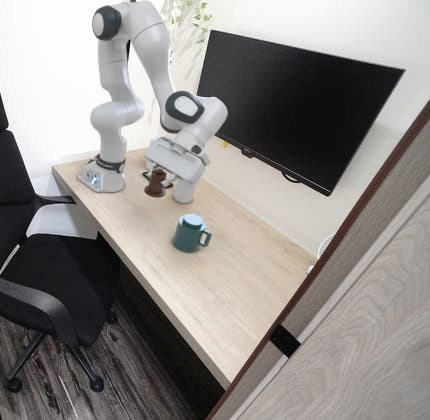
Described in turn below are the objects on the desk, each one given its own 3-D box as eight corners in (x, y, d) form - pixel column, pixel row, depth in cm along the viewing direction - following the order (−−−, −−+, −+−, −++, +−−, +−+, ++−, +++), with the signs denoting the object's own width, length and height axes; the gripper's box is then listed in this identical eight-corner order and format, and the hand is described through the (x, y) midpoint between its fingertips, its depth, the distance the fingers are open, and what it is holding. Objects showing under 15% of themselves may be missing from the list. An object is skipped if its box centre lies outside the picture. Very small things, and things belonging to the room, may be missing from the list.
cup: (165, 170, 162) (172, 140, 153) (150, 172, 160) (157, 142, 151) (156, 163, 169) (163, 134, 159) (142, 164, 167) (148, 135, 157)
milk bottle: (192, 204, 138) (206, 163, 126) (174, 202, 139) (185, 161, 128) (190, 195, 144) (203, 154, 133) (172, 193, 146) (183, 152, 134)
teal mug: (167, 243, 118) (175, 219, 111) (179, 232, 123) (187, 208, 116) (198, 260, 111) (208, 235, 104) (209, 248, 116) (219, 223, 110)
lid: (140, 191, 105) (144, 168, 100) (151, 184, 109) (156, 161, 104) (158, 200, 101) (164, 176, 96) (169, 192, 105) (175, 169, 100)
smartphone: (155, 169, 161) (174, 184, 149) (154, 171, 161) (174, 186, 150) (141, 172, 158) (160, 187, 147) (141, 174, 159) (160, 189, 147)
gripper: (157, 129, 106) (130, 162, 107) (209, 154, 91) (176, 192, 93) (164, 139, 110) (138, 171, 112) (215, 164, 96) (183, 200, 98)
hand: (156, 181), depth 102 cm, fingers closed on lid, 4 cm apart
